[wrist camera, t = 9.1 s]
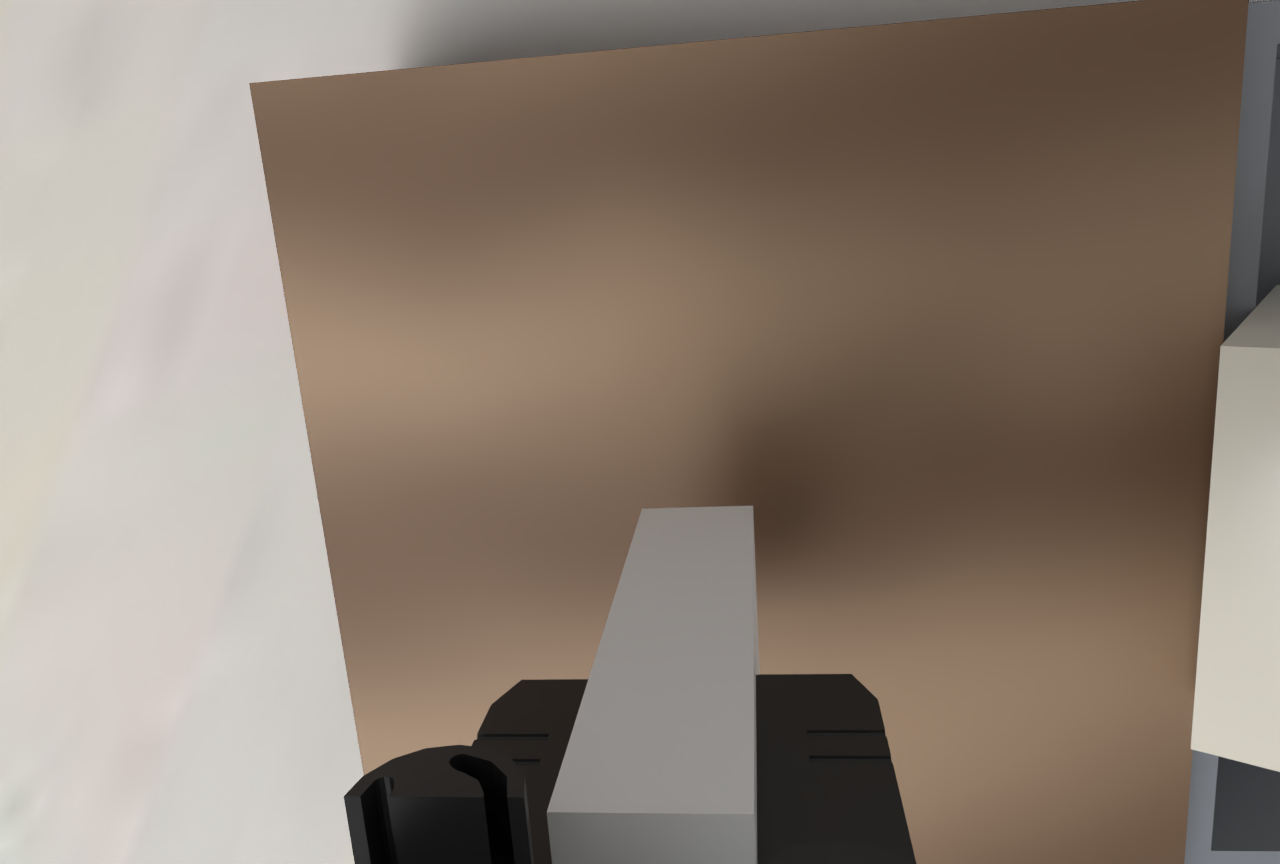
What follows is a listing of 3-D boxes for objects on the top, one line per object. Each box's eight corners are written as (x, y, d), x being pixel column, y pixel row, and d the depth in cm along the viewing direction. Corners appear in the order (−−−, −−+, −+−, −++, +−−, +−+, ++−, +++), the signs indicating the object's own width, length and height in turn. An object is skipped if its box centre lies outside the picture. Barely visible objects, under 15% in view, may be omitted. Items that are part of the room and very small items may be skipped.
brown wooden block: (1070, 741, 23) (1178, 939, 17) (474, 745, 24) (388, 925, 19) (1098, 41, 19) (1249, -10, 13) (389, 104, 21) (249, 83, 15)
